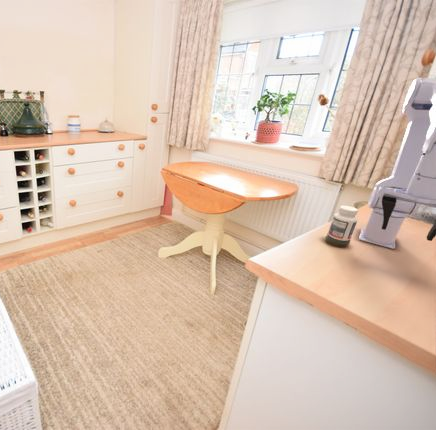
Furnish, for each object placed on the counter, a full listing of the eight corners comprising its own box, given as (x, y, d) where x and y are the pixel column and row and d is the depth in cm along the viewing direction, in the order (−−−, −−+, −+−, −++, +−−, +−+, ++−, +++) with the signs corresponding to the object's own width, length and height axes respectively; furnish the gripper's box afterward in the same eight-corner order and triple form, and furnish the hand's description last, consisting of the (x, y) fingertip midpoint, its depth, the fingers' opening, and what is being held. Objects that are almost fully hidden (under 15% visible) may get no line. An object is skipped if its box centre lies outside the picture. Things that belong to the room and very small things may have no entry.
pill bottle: (342, 233, 85) (353, 205, 82) (354, 242, 80) (366, 212, 77) (323, 232, 85) (333, 204, 82) (334, 240, 81) (345, 211, 77)
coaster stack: (326, 236, 87) (328, 230, 87) (349, 243, 84) (351, 237, 83) (322, 243, 83) (325, 236, 83) (346, 250, 80) (349, 243, 79)
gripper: (386, 172, 63) (363, 228, 68) (489, 187, 54) (453, 251, 59) (387, 167, 68) (366, 220, 73) (482, 180, 59) (449, 239, 64)
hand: (405, 233), depth 66 cm, fingers open, 7 cm apart
